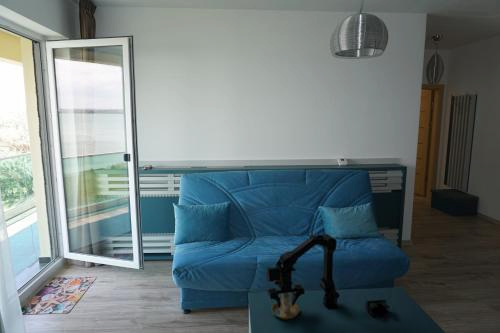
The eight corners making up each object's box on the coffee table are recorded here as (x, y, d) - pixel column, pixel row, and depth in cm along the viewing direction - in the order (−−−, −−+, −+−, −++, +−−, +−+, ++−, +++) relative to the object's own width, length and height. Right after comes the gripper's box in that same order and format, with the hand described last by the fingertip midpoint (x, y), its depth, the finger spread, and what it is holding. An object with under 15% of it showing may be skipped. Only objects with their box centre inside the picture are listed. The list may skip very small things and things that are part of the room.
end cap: (382, 308, 178) (383, 297, 177) (389, 316, 172) (390, 304, 170) (364, 310, 178) (365, 298, 176) (370, 317, 171) (371, 305, 169)
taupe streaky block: (286, 305, 178) (286, 291, 177) (290, 311, 173) (290, 296, 172) (281, 306, 177) (281, 292, 176) (284, 312, 172) (284, 297, 171)
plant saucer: (298, 323, 167) (298, 319, 166) (269, 320, 170) (269, 315, 169) (300, 307, 181) (300, 302, 181) (273, 304, 184) (273, 300, 184)
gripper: (296, 269, 182) (296, 295, 185) (264, 274, 178) (264, 301, 180) (305, 279, 172) (304, 307, 174) (270, 284, 167) (270, 312, 170)
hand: (285, 306), depth 175 cm, fingers open, 7 cm apart
